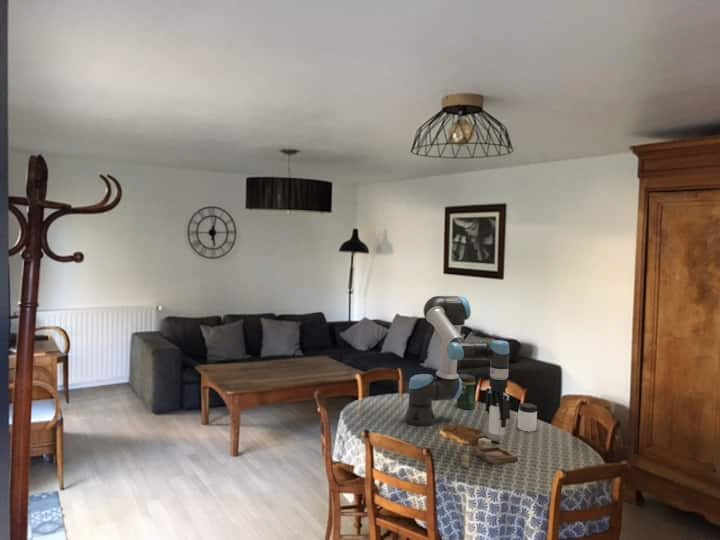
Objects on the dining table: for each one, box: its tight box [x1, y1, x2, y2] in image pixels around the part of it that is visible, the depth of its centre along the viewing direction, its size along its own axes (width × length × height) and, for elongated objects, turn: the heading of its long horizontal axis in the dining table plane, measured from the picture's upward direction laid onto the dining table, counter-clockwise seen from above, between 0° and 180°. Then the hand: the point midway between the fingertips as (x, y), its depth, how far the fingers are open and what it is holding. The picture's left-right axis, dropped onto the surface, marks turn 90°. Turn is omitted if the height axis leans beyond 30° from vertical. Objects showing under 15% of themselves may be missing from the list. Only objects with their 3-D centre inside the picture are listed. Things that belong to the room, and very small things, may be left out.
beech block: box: [477, 437, 492, 449], centre depth 249 cm, size 4×4×4 cm
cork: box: [460, 453, 470, 469], centre depth 227 cm, size 3×3×4 cm
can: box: [488, 403, 500, 435], centre depth 238 cm, size 6×6×12 cm
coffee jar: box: [456, 373, 477, 410], centre depth 314 cm, size 10×8×19 cm
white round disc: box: [484, 419, 502, 442], centre depth 260 cm, size 10×4×10 cm, turn 26°
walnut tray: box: [473, 445, 519, 466], centre depth 238 cm, size 13×13×2 cm
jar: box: [517, 402, 538, 433], centre depth 279 cm, size 9×8×12 cm
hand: (496, 431), depth 238 cm, fingers closed on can, 6 cm apart
